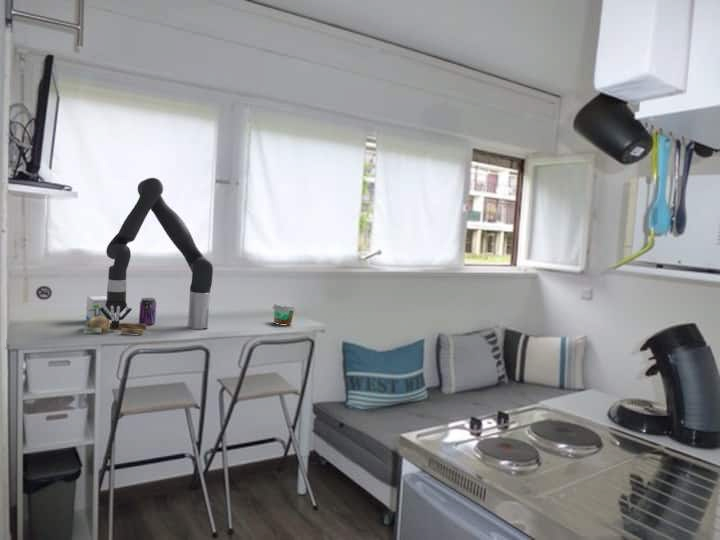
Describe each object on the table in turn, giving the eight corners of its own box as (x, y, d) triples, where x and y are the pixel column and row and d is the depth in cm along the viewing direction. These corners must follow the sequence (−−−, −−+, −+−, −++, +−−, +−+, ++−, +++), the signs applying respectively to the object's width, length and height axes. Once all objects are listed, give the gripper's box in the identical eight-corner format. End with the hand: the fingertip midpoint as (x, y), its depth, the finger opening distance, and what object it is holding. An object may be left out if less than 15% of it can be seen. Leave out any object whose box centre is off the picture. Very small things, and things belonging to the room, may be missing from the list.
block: (109, 329, 232) (110, 317, 232) (107, 332, 226) (107, 321, 225) (92, 328, 230) (92, 317, 230) (88, 332, 224) (89, 320, 223)
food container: (267, 323, 275) (268, 304, 274) (273, 321, 281) (274, 303, 280) (287, 327, 271) (289, 308, 270) (293, 325, 277) (295, 306, 276)
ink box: (90, 324, 237) (91, 299, 236) (85, 320, 243) (86, 296, 242) (110, 323, 242) (112, 298, 241) (105, 319, 249) (106, 295, 248)
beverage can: (149, 326, 244) (150, 300, 243) (135, 324, 246) (137, 299, 244) (158, 323, 251) (159, 298, 250) (144, 321, 252) (146, 297, 251)
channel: (146, 329, 238) (146, 320, 238) (142, 335, 227) (143, 326, 226) (90, 327, 232) (90, 318, 232) (83, 333, 220) (84, 324, 220)
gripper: (134, 289, 233) (132, 327, 234) (101, 287, 229) (100, 326, 231) (132, 291, 225) (130, 331, 227) (98, 290, 222) (96, 330, 224)
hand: (115, 329), depth 229 cm, fingers closed
